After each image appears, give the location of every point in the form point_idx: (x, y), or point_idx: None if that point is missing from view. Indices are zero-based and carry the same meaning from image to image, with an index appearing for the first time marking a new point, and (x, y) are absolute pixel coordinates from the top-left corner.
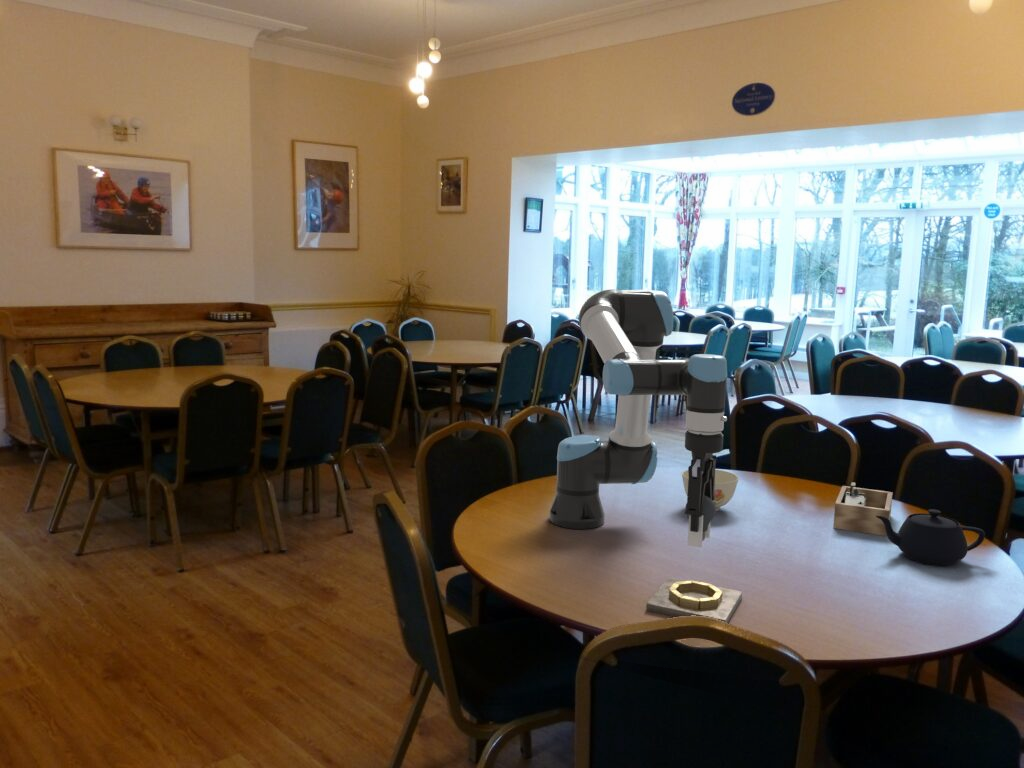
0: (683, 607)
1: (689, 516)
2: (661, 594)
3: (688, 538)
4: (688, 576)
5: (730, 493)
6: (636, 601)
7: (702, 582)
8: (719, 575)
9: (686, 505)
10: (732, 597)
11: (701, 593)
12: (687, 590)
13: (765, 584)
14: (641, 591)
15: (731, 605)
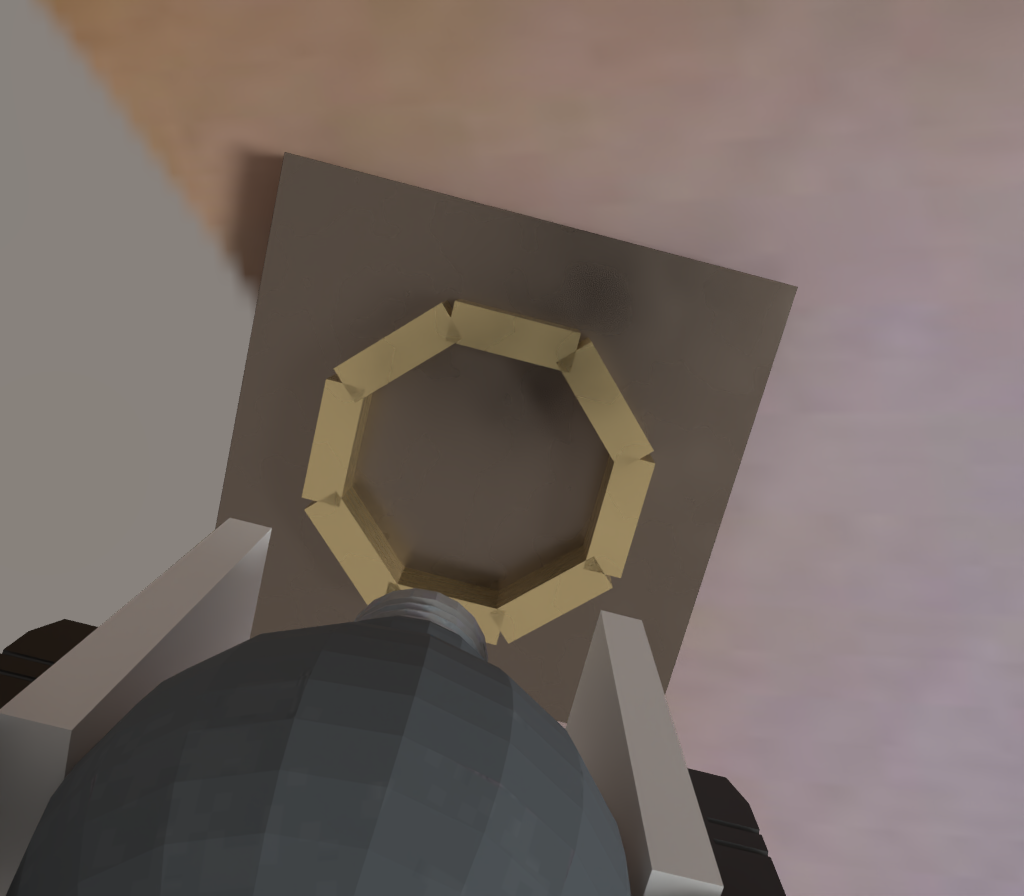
0: (296, 396)
1: (16, 698)
2: (466, 246)
3: (197, 550)
4: (947, 416)
5: None
6: (423, 80)
7: (634, 525)
8: (998, 613)
9: (236, 712)
10: (539, 684)
11: (554, 506)
12: (583, 418)
13: (891, 859)
14: (604, 101)
15: None
